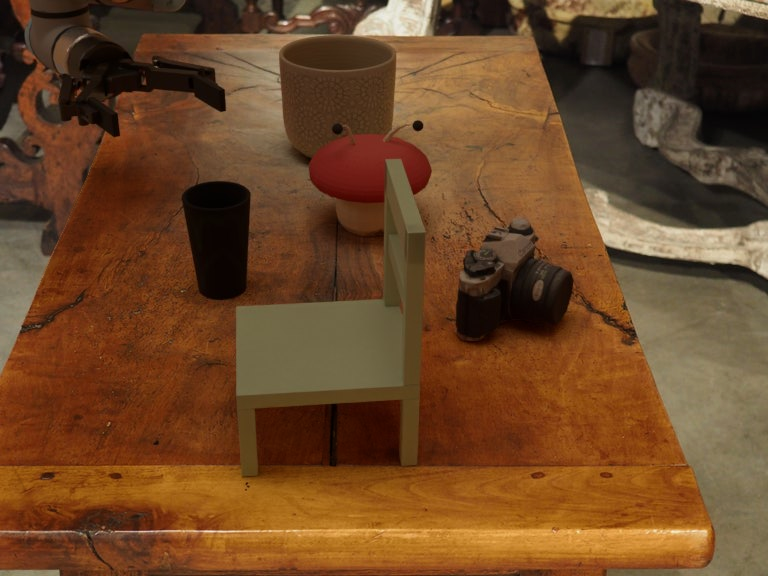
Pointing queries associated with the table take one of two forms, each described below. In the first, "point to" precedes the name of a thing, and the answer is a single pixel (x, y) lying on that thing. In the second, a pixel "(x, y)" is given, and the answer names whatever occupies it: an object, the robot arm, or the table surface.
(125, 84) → the robot arm
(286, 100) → the planter
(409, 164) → the mushroom
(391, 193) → the chair
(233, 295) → the cup
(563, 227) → the table surface
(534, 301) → the camera
